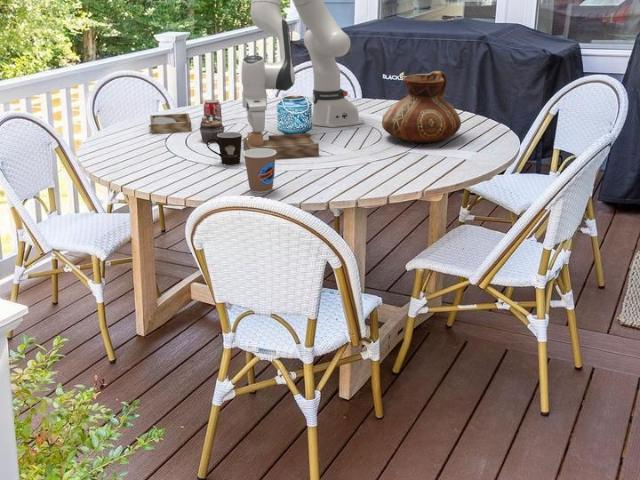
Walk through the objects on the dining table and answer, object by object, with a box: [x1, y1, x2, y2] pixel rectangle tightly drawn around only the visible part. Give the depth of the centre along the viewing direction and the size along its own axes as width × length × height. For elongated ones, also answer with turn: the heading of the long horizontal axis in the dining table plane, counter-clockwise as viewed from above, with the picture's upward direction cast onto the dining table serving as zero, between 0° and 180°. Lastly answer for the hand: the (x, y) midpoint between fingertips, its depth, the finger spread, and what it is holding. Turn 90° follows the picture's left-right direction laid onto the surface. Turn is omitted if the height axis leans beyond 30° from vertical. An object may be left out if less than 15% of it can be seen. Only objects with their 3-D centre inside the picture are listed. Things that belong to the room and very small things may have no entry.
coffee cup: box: [242, 148, 277, 194], centre depth 247 cm, size 10×10×12 cm
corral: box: [149, 112, 192, 135], centre depth 330 cm, size 16×18×4 cm
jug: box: [381, 70, 462, 146], centre depth 302 cm, size 30×30×25 cm
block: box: [247, 131, 264, 146], centre depth 290 cm, size 5×5×4 cm
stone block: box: [153, 117, 176, 124], centre depth 331 cm, size 12×5×10 cm
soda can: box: [203, 99, 223, 123], centre depth 325 cm, size 7×7×12 cm
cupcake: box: [199, 114, 225, 144], centre depth 308 cm, size 10×10×10 cm
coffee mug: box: [206, 131, 243, 166], centre depth 278 cm, size 12×9×10 cm
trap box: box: [242, 132, 320, 160], centre depth 290 cm, size 25×17×4 cm
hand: (256, 138), depth 295 cm, fingers closed
